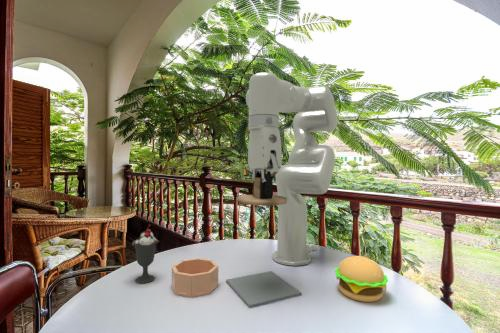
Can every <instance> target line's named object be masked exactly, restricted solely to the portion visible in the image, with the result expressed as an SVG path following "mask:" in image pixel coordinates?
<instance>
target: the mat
mask: <svg viewBox="0 0 500 333" xmlns="http://www.w3.org/2000/svg"><path fill="white" fill-rule="evenodd" d="M225 282H226V284H227V285H228V286H229V287H230V288H231V290H232V291H234V293H235V294H236V295H237V297H238V298H239V299H240V300H241V301H242V302H243V303H244V304H245V305H246V306H247V307H248V309H251V308H255V307H256V308H257V307H259V306H263V305H268V304H271V303H276V302H279V301H280V302H281V301H284V300H287V299H291V298H295V297H296V298H297V297H299V296H302V294H303V293H302V291H300V290H299V289H297V287H294V286H293V285H292V284H291V283H289V282H288V281H286V280H285V279H283V278H282V277H280V275H278V274H276V273H275V272H274V271H264V272H258V273H254V274H249V275H248V274H247V275H244V276H239V277H233V278H227V279H225Z"/></svg>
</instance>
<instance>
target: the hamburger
mask: <svg viewBox="0 0 500 333" xmlns="http://www.w3.org/2000/svg"><path fill="white" fill-rule="evenodd" d="M334 273H335V275H336V280H339V281H338V284H337V285H338V289H339V290H340V292H341V293H342V294H343V295H344V296H346V297H348V298H350V299H352V300H355V301H358V302H363V303H373V302H377V301H380V300H381V299H382V298H383V296H384V291H385V292H386V291H387V288H388V287H387V283H388V282H389V280H388V276H387V275H386V274H384V273H385V272H384V271H383V269H382V267H381V266H380V265H379V264H378V263H377V262H376V261H375V260H373V259H370V258H368V257H365V256H362V255H353V256H348V257H346V258H344V259H342V260H341V261H340V263H339V265H338V266H337V267H335V270H334Z"/></svg>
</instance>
